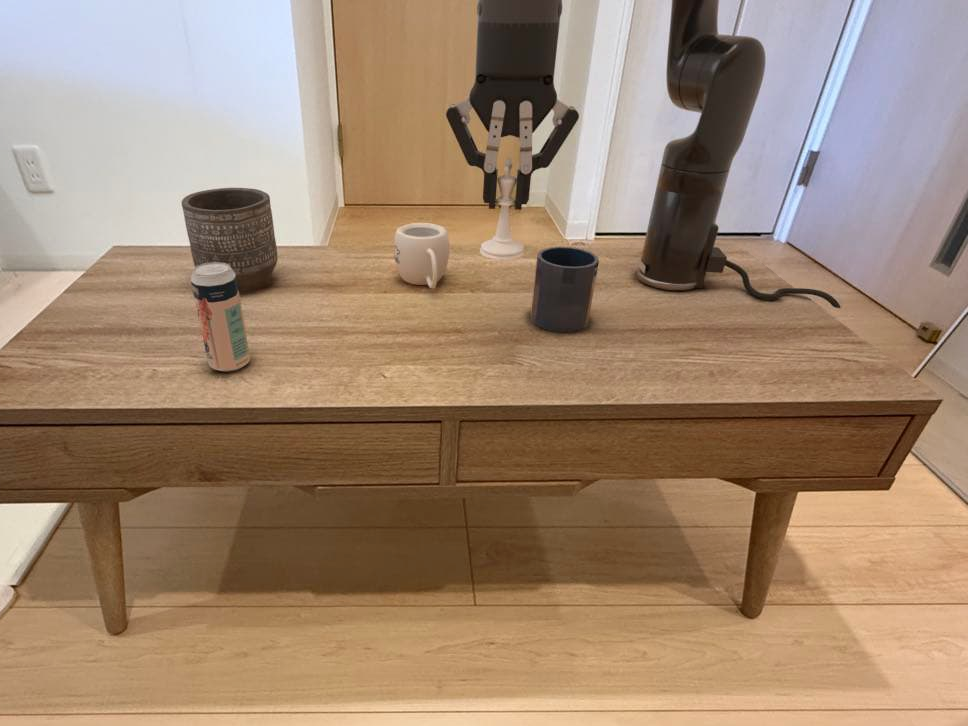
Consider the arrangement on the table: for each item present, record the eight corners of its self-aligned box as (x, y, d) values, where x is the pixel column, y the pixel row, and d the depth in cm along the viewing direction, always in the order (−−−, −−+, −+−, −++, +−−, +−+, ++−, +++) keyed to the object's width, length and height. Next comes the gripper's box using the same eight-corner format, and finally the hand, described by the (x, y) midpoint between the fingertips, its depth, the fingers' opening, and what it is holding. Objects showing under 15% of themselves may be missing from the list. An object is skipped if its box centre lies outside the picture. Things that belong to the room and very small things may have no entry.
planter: (199, 272, 97) (182, 189, 90) (277, 265, 100) (267, 184, 93) (197, 303, 87) (178, 213, 80) (284, 294, 90) (273, 207, 83)
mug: (389, 271, 98) (387, 223, 94) (439, 267, 100) (440, 219, 96) (407, 301, 89) (406, 249, 84) (462, 295, 91) (465, 244, 86)
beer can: (214, 354, 75) (194, 260, 68) (253, 353, 75) (237, 260, 69) (205, 375, 71) (183, 277, 64) (247, 373, 71) (229, 276, 65)
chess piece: (474, 256, 67) (478, 161, 62) (487, 242, 71) (492, 151, 66) (517, 262, 66) (526, 166, 60) (528, 248, 70) (537, 155, 64)
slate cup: (584, 309, 87) (595, 248, 82) (590, 334, 81) (602, 269, 76) (529, 306, 88) (536, 245, 83) (531, 330, 81) (538, 266, 76)
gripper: (590, 16, 59) (566, 200, 68) (447, 15, 60) (443, 196, 69) (600, 19, 52) (573, 220, 62) (440, 18, 54) (437, 215, 63)
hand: (504, 206), depth 66 cm, fingers closed on chess piece
